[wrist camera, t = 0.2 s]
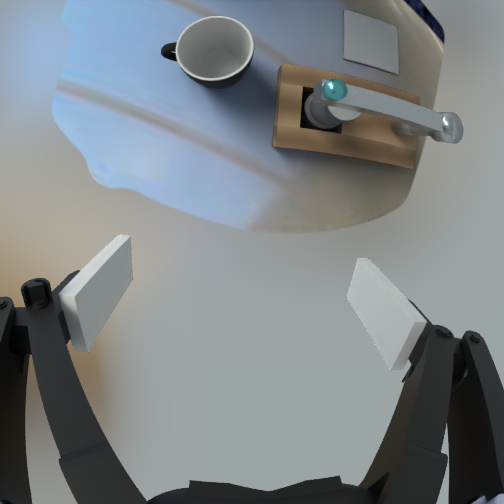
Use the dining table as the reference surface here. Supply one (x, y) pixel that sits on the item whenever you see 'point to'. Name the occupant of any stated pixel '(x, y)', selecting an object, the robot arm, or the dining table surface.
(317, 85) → the crank
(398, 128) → the socket block
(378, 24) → the mat
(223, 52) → the mug
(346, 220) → the dining table surface
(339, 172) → the dining table surface
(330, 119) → the plug
